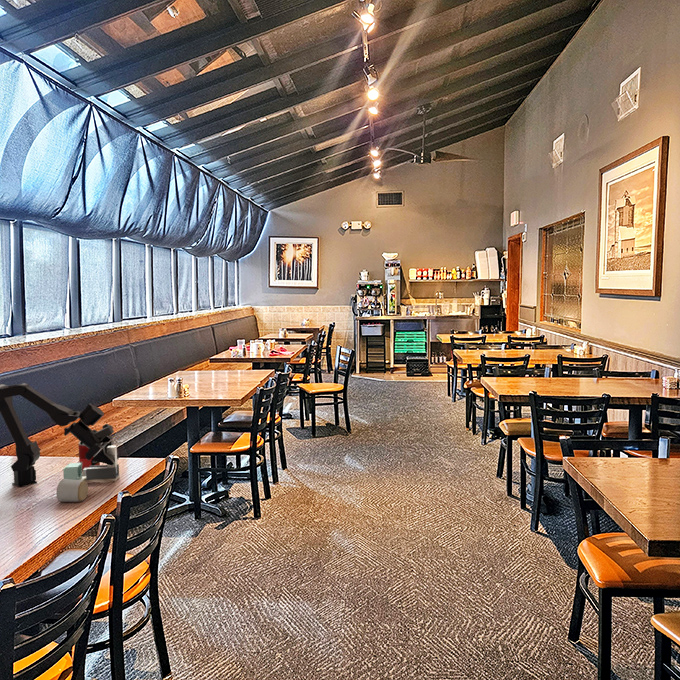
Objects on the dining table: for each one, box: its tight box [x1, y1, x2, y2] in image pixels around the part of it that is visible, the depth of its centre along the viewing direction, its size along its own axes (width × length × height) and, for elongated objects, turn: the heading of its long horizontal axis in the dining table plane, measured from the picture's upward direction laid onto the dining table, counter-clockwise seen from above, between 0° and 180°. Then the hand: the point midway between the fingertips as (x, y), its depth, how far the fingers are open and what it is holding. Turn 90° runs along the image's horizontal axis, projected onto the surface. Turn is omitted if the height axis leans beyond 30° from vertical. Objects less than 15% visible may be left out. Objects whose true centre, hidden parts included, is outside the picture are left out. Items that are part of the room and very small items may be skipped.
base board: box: [79, 474, 120, 484], centre depth 222 cm, size 19×6×1 cm, turn 98°
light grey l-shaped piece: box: [82, 444, 118, 476], centre depth 222 cm, size 12×3×11 cm, turn 98°
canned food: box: [78, 441, 101, 469], centre depth 239 cm, size 8×8×11 cm
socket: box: [62, 462, 83, 480], centre depth 221 cm, size 5×6×5 cm
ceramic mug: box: [56, 478, 89, 503], centre depth 201 cm, size 11×8×8 cm
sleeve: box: [86, 463, 120, 480], centre depth 223 cm, size 11×5×4 cm, turn 98°
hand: (115, 461), depth 223 cm, fingers open, 8 cm apart
